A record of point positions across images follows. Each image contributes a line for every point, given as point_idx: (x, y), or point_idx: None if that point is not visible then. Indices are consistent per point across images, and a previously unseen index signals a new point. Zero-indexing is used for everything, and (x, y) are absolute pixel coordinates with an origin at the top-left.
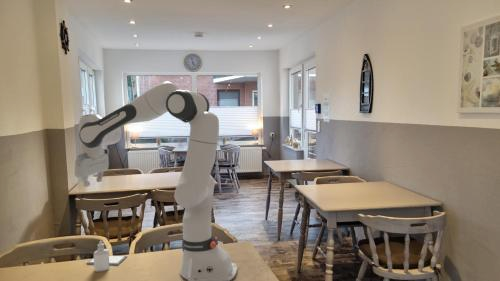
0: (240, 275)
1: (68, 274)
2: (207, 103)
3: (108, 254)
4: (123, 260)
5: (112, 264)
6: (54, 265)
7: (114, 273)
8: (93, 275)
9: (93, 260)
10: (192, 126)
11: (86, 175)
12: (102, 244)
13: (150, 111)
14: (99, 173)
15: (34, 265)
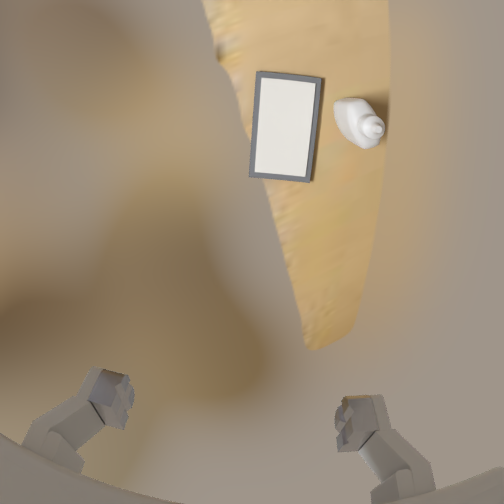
0: None
1: (368, 203)
2: None
3: (360, 98)
4: (283, 74)
5: (319, 97)
6: (308, 266)
7: (372, 74)
8: None
9: (294, 168)
10: None
11: (470, 487)
12: (379, 119)
13: None
14: (73, 450)
15: (303, 310)
